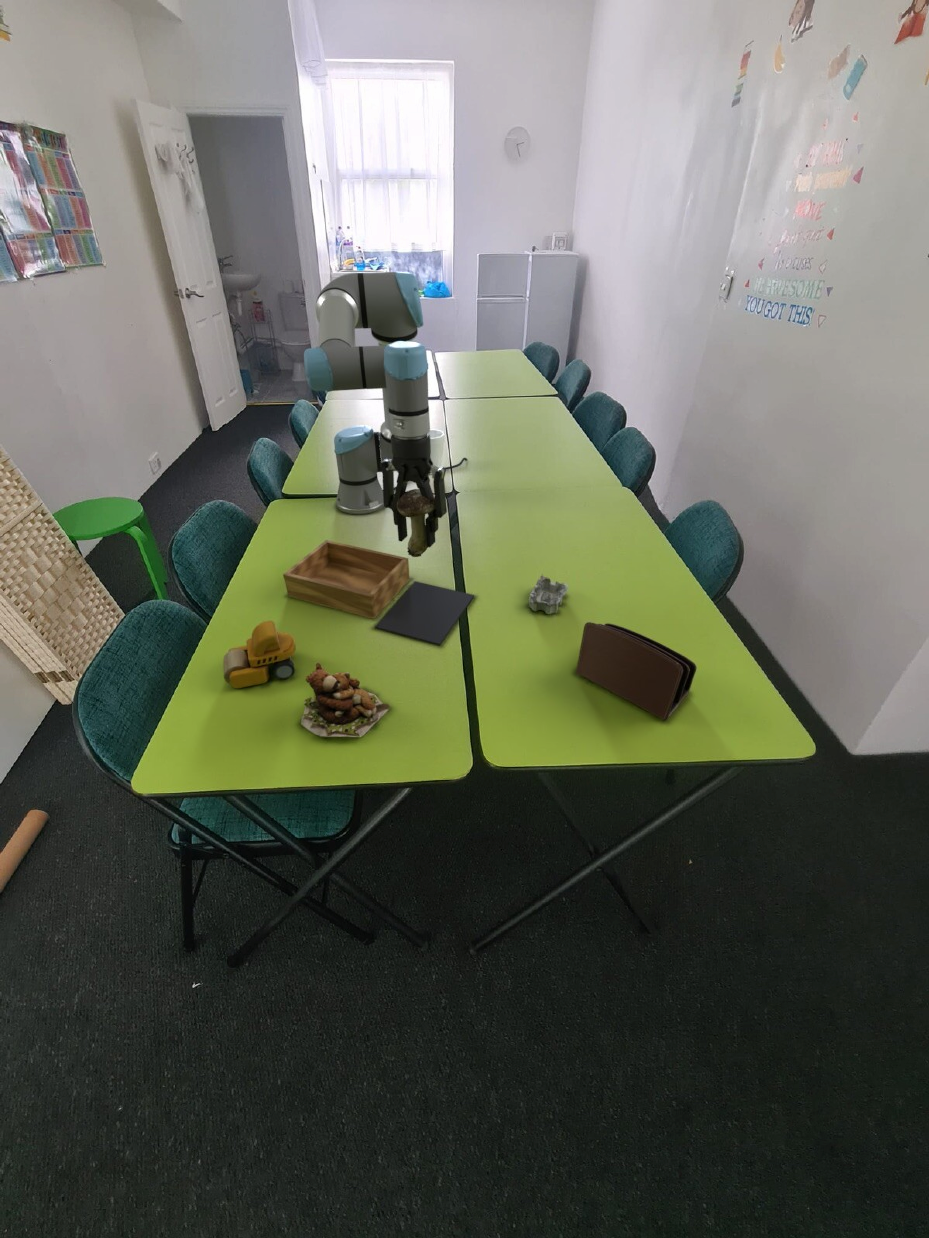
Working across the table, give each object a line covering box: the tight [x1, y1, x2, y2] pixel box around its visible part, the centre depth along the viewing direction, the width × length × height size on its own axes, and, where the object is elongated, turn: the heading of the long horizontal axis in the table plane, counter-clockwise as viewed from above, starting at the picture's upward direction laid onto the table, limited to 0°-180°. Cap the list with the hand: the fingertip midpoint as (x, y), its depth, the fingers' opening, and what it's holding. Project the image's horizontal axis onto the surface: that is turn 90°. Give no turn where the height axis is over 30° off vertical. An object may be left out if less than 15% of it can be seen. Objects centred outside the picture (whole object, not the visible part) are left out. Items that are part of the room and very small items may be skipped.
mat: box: [374, 580, 475, 647], centre depth 130 cm, size 20×16×1 cm
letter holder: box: [575, 621, 698, 722], centre depth 107 cm, size 10×20×14 cm, turn 48°
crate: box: [282, 539, 411, 620], centre depth 137 cm, size 18×24×6 cm
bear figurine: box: [300, 662, 391, 739], centre depth 101 cm, size 14×15×12 cm
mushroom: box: [397, 488, 436, 558], centre depth 117 cm, size 9×9×15 cm
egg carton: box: [528, 574, 569, 615], centre depth 132 cm, size 11×8×4 cm
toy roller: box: [222, 619, 297, 689], centre depth 111 cm, size 9×14×10 cm, turn 111°
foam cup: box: [428, 428, 445, 475], centre depth 194 cm, size 10×9×13 cm
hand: (416, 541), depth 120 cm, fingers closed on mushroom, 6 cm apart
